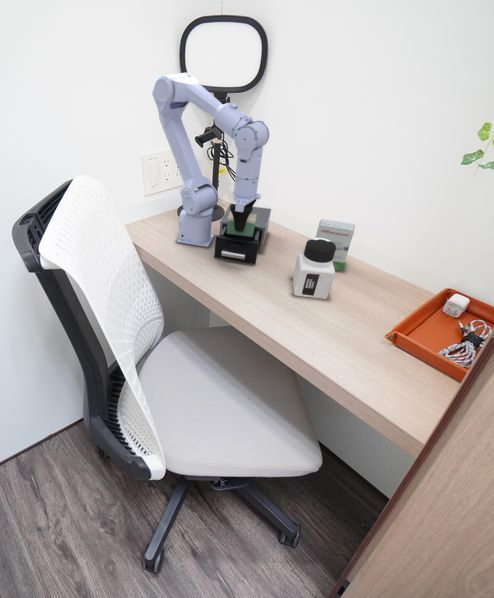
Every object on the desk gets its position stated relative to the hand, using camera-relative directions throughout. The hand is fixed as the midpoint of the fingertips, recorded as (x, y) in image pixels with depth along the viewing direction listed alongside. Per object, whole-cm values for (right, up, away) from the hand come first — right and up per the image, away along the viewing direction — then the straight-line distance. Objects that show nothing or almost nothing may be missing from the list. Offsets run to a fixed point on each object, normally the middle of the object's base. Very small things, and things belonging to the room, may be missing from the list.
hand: (240, 226), depth 97 cm
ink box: (+24, -10, +2) cm, 26 cm away
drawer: (0, -7, +4) cm, 8 cm away
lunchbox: (0, -1, +1) cm, 1 cm away
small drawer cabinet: (+3, -1, +13) cm, 13 cm away
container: (+16, -17, -7) cm, 24 cm away
